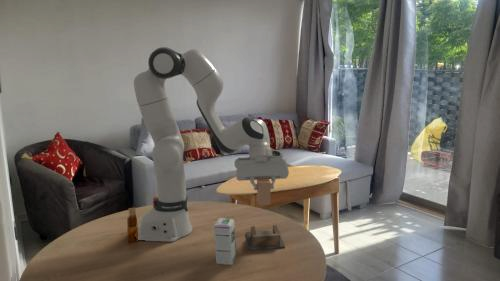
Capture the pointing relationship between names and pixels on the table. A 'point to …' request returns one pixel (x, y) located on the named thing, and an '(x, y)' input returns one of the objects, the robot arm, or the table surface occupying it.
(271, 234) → the stop cradle
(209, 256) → the table surface
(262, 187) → the block
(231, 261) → the syrup box
